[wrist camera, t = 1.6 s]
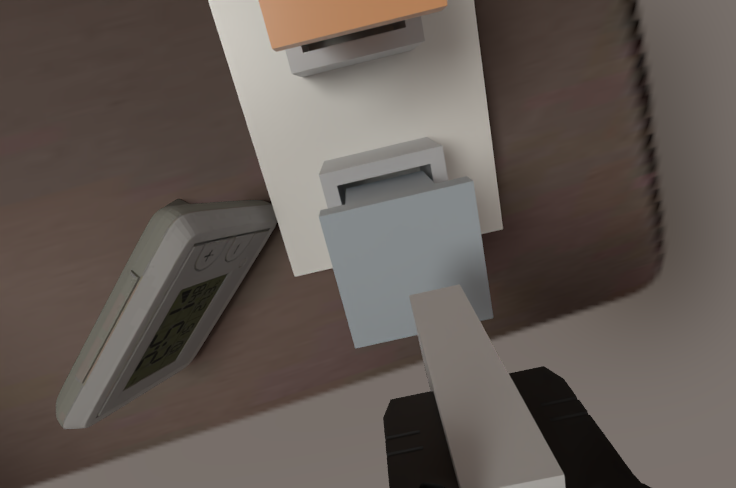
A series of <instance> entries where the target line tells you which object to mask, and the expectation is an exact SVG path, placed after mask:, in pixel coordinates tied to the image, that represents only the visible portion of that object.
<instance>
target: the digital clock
mask: <svg viewBox="0 0 736 488" xmlns="http://www.w3.org/2000/svg"><path fill="white" fill-rule="evenodd" d="M276 224H277V219H276V215H275V212H274V209H273V206H272V204H270V203H268V202H266V201H262V200H243V201H228V202H213V203H199V204H188V203H187V202H185V201H183V200H181V199H177V200H175V201H173V202H172V203H170V204H168V205H167V206H165V207H163V208H162V209H160V210H158V211H157V212H156V213H155V214H154V215H153V217H152V218H151V220H150V221H149V223H148V225H147V227H146V229H145V231H144V232H143V234H142V236H141V238H140V240H139V242H138V243H137V245H136V247H135V249H134V251H133V253H132V255H131V256H130V258H129V260H128V262H127V264H126V266H125V268H124V270H123V272H122V274H121V276H120V277H119V279H118V281H117V283H116V285H115V287H114V289H113V291H112V293H111V295H110V297H109V298H108V300H107V302H106V304H105V306H104V308H103V310H102V312H101V314H100V316H99V318H98V320H97V321H96V323H95V325H94V327H93V329H92V331H91V333H90V335H89V337H88V339H87V341H86V342H85V344H84V346H83V348H82V350H81V352H80V354H79V356H78V358H77V360H76V362H75V364H74V365H73V367H72V369H71V371H70V373H69V375H68V377H67V379H66V381H65V383H64V385H63V387H62V389H61V391H60V393H59V395H58V398H57V401H56V417H57V419H58V421H59V423H60V425H61V426H62V427H63V428H64V429H78V428H87V427H90V426H92V425H93V424H95V423H97V422H98V421H100V420H102V419H103V418H105V417H107V416H108V415H110V414H112V413H113V412H115V411H116V410H118V409H120V408H121V407H123V406H124V405H126V404H128V403H129V402H131V401H133V400H134V399H136V398H137V397H139V396H141V395H142V394H144V393H145V392H147V391H149V390H150V389H152V388H153V387H155V386H157V385H158V384H160V383H162V382H163V381H165V380H166V379H168V378H170V377H171V376H173V375H174V374H176V373H178V372H179V371H181V370H182V369H184V368H185V367H186V366H187V365H189V364H190V363H191V361H192V360H193V359H194V357H195V356H196V354H197V353H198V351H199V350H200V348H201V346H202V345H203V343H204V342H205V340H206V338H207V337H208V335H209V334H210V332H211V330H212V329H213V327H214V325H215V324H216V322H217V321H218V319H219V317H220V316H221V314H222V313H223V311H224V309H225V308H226V306H227V304H228V303H229V301H230V300H231V298H232V296H233V295H234V293H235V292H236V290H237V288H238V287H239V285H240V283H241V282H242V280H243V279H244V277H245V275H246V274H247V272H248V271H249V269H250V267H251V266H252V264H253V262H254V261H255V259H256V258H257V256H258V254H259V253H260V251H261V249H262V248H263V246H264V245H265V243H266V241H267V240H268V238H269V236H270V235H271V233H272V231H273V230H274V228H275V226H276Z"/></svg>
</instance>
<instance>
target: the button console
mask: <svg viewBox="0 0 736 488" xmlns="http://www.w3.org/2000/svg"><path fill="white" fill-rule="evenodd" d="M208 1H209V5H210V8H211V11H212V14H213V17H214V21H215V24H216V27H217V30H218V33H219V37H220V40H221V43H222V46H223V49H224V52H225V56H226V59H227V62H228V65H229V68H230V72H231V75H232V78H233V81H234V84H235V88H236V91H237V94H238V97H239V100H240V104H241V107H242V110H243V113H244V116H245V119H246V123H247V126H248V129H249V132H250V135H251V139H252V142H253V145H254V148H255V151H256V155H257V158H258V161H259V164H260V167H261V171H262V174H263V177H264V180H265V183H266V187H267V190H268V193H269V196H270V199H271V202H272V206H273V209H274V212H275V215H276V218H277V222H278V225H279V228H280V231H281V234H282V238H283V241H284V244H285V247H286V250H287V254H288V257H289V260H290V263H291V266H292V269H293V273H294V276H295V277H296V276H300V275H305V274H309V273H313V272H318V271H322V270H327V269H331V268H333V266H332V263H331V259H330V256H329V252H328V248H327V245H326V241H325V238H324V234H323V230H322V227H321V223H320V220H319V214H320V210H323V209H328V208H332V207H336V206H341V205H345V199H346V188H350V187H354V186H359V185H363V184H367V183H371V182H376V181H380V180H384V179H388V178H393V177H397V176H401V175H406V174H410V173H414V172H418V171H423V172H424V173H425V174H426V175H427V176H428V177H429V178H430V179H431V180H432V181H433V182H434V183H439V182H443V181H448V180H452V179H456V178H461V177H465V176H467V177H469V178H470V179H471V180H473V182H474V189H475V196H476V202H477V209H478V216H479V223H480V230H481V234H484V233H489V232H493V231H498V230H502V229H503V225H502V217H501V209H500V201H499V193H498V185H497V178H496V170H495V162H494V154H493V146H492V138H491V131H490V123H489V115H488V107H487V99H486V92H485V84H484V76H483V68H482V60H481V52H480V45H479V37H478V29H477V21H476V13H475V5H474V0H447V6H446V7H445V8H444V9H443V10H442V11H439V12H435V13H431V14H427V15H423V16H419V17H415V18H411V19H407V20H403V21H399V22H395V23H392V24H387V25H383V26H379V27H375V28H371V29H367V30H363V31H359V32H355V33H351V34H347V35H343V36H339V37H335V38H331V39H327V40H323V41H319V42H315V43H311V44H306V45H302V46H298V47H294V48H290V49H286V50H282V51H278V52H276V51H275V50H273V49H272V47H271V44H270V40H269V36H268V33H267V29H266V26H265V22H264V18H263V15H262V11H261V8H260V4H259V0H208Z"/></svg>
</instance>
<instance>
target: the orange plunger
mask: <svg viewBox="0 0 736 488" xmlns="http://www.w3.org/2000/svg"><path fill="white" fill-rule="evenodd" d="M259 4H260V8H261V11H262V15H263V18H264V22H265V26H266V29H267V33H268V36H269V40H270V44H271V47H272V49H273V50H275V51H276V52H278V51H282V50H286V49H290V48H294V47H298V46H302V45H306V44H311V43H315V42H319V41H323V40H327V39H331V38H335V37H339V36H343V35H347V34H351V33H355V32H359V31H363V30H367V29H371V28H375V27H379V26H383V25H387V24H392V23H395V22H399V21H403V20H407V19H411V18H415V17H419V16H423V15H427V14H431V13H435V12H439V11H442V10H443V9H444V8H445V7H446V6H447V0H259Z"/></svg>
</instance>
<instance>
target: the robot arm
mask: <svg viewBox="0 0 736 488" xmlns="http://www.w3.org/2000/svg"><path fill="white" fill-rule="evenodd" d="M409 297H410V302H411V307H412V311H413V316H414V320H415V325H416V329H417V334H418V339H419V343H420V348H421V352H422V357H423V362H424V366H425V371H426V375H427V378H428V383H429V387H430V390H431V391H430V392H425V393H420V394H416V395H411V396H406V397H401V398H396V399H392V400H390V403H389V406H388V408H387V410H386V413H385V415H384V418H383V420H384V431H385V439H386V453H387V464H388V476H389V486H390V488H650V487H649V486H647V485H645V484H642V483H641V482H640V481H639V480H638V479H637V478H636V477H635V476H634V475H633V474H632V472H631V470H630V469H629V468H628V466H627V465H626V464H625V462H624V461H623V460H622V458H621V457H620V455H619V454H618V453H617V451H616V450H615V449H614V447H613V446H612V444H611V443H610V442H609V440H608V439H607V438H606V437H605V435H604V434H603V432H602V431H601V429H600V428H599V427H598V426H597V424H596V423H595V421H594V420H593V419H592V417H591V416H590V415H588V413H587V410H586V409H585V408H584V406H583V405H582V403H581V402H580V401H579V400H577V397H576V395H575V394H574V393H573V391H572V390H571V388H570V387H569V386H568V384H567V383H566V382H565V380H564V379H563V378H561V377H560V376H558V375H557V374H555V373H553V372H552V371H550V370H549V369H547V368H546V367H538V368H533V369H529V370H524V371H519V372H515V373H508V372H507V370H506V368H505V366H504V364H503V362H502V360H501V359H500V357H499V355H498V353H497V351H496V349H495V348H494V346H493V344H492V342H491V340H490V339H489V337H488V335H487V333H486V331H485V329H484V328H483V326H482V324H481V322H480V320H479V319H478V317H477V315H476V313H475V311H474V309H473V308H472V306H471V304H470V302H469V300H468V298H467V297H466V295H465V293H464V291H463V289H462V288H461V286H460V284H459V285H454V286H450V287H445V288H441V289H436V290H432V291H427V292H422V293H418V294H413V295H409Z"/></svg>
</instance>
